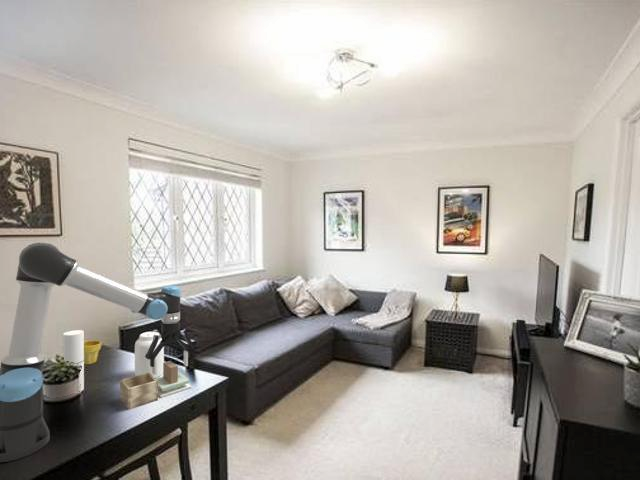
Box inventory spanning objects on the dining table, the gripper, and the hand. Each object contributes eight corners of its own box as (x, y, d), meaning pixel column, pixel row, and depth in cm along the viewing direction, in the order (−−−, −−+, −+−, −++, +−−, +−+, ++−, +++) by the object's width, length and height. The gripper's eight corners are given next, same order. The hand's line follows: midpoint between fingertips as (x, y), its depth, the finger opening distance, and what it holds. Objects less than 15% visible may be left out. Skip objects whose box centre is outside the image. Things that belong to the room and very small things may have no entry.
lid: (162, 395, 144) (162, 372, 144) (151, 385, 152) (151, 364, 152) (189, 386, 153) (189, 364, 153) (177, 378, 161) (177, 357, 161)
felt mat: (160, 398, 144) (160, 396, 144) (149, 387, 153) (149, 385, 153) (191, 388, 153) (191, 386, 153) (178, 378, 162) (178, 377, 162)
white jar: (148, 368, 173) (148, 328, 173) (169, 371, 170) (169, 331, 169) (128, 378, 161) (128, 336, 160) (150, 382, 158) (150, 338, 157)
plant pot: (105, 358, 184) (105, 340, 184) (91, 366, 174) (91, 347, 174) (87, 357, 185) (87, 339, 185) (71, 365, 175) (71, 346, 175)
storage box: (128, 409, 134) (128, 389, 134) (119, 399, 142) (119, 380, 142) (157, 400, 142) (158, 380, 142) (148, 390, 150) (148, 372, 149)
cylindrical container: (73, 395, 144) (73, 335, 144) (59, 393, 146) (58, 334, 145) (87, 387, 151) (87, 330, 150) (74, 385, 153) (74, 329, 152)
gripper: (143, 328, 140) (143, 380, 141) (201, 318, 158) (201, 364, 159) (137, 324, 146) (137, 374, 146) (194, 315, 163) (194, 359, 164)
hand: (170, 369), depth 152 cm, fingers open, 13 cm apart
